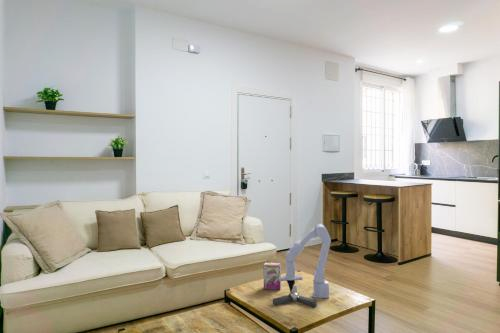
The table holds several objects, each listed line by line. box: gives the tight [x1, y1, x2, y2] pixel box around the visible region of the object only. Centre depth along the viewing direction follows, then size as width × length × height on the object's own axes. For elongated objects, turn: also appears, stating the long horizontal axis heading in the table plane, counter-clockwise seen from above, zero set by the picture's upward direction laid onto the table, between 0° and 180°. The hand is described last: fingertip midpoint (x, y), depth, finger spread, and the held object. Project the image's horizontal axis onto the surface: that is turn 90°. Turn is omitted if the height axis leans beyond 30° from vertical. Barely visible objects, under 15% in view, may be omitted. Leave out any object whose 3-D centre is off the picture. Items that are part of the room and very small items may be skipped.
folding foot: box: [292, 285, 298, 292], centre depth 207 cm, size 11×3×3 cm, turn 173°
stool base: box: [272, 291, 318, 309], centre depth 196 cm, size 26×11×4 cm, turn 81°
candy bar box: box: [262, 262, 282, 291], centre depth 218 cm, size 11×5×16 cm, turn 78°
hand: (290, 291), depth 208 cm, fingers closed
